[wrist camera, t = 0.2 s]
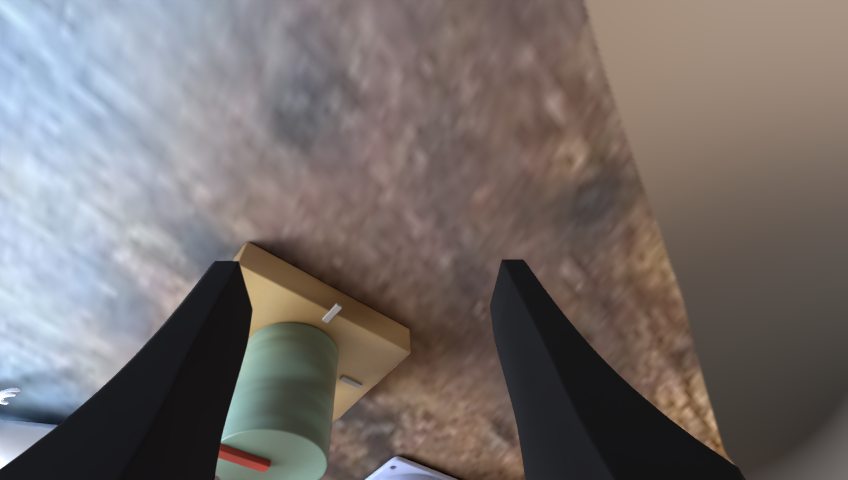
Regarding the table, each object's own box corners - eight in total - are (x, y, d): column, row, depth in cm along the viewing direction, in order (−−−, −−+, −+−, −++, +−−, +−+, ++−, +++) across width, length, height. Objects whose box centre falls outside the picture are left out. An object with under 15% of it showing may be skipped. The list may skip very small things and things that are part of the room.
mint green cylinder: (356, 347, 26) (349, 460, 21) (307, 395, 28) (288, 511, 23) (275, 307, 24) (242, 421, 19) (228, 362, 26) (186, 480, 21)
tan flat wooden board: (417, 322, 28) (419, 348, 27) (331, 402, 32) (328, 430, 30) (253, 231, 24) (243, 255, 22) (176, 336, 28) (161, 364, 26)
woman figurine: (108, 560, 33) (-207, 482, 27) (140, 498, 37) (-131, 418, 31) (160, 482, 28) (-212, 366, 22) (190, 418, 32) (-121, 306, 26)
